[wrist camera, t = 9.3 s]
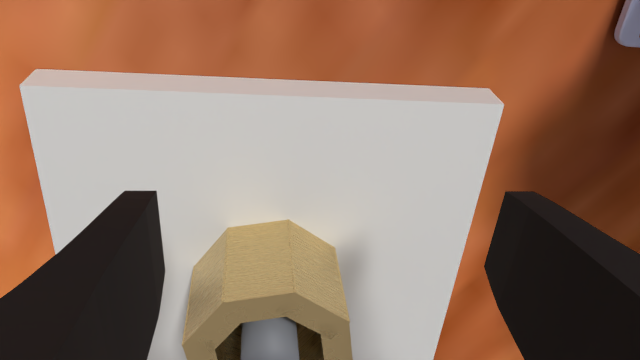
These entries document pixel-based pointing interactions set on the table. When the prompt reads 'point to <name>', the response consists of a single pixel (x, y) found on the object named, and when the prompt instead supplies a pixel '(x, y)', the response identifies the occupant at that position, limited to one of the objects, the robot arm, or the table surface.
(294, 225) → the ring
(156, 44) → the table surface
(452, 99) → the grey peg base
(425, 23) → the table surface
